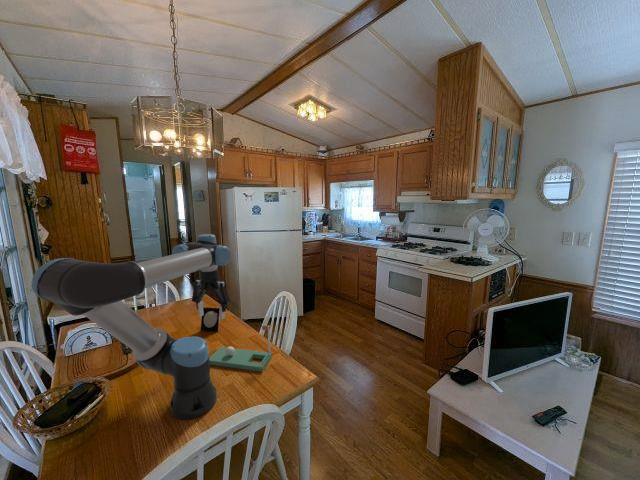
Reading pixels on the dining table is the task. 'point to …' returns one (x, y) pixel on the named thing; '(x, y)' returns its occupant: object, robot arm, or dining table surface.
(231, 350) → the ball
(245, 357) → the putting board
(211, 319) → the decorative object
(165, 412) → the dining table surface
